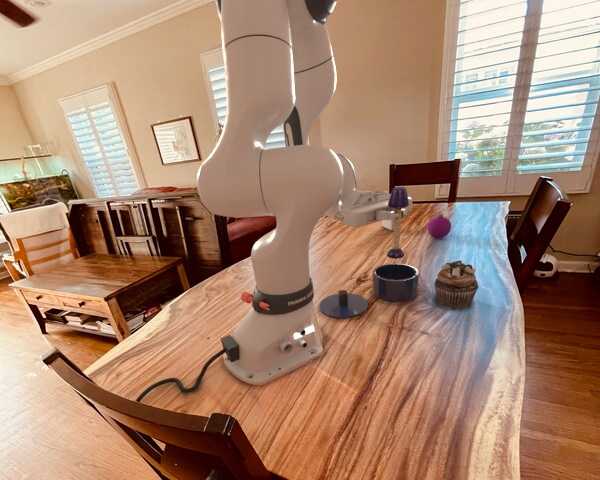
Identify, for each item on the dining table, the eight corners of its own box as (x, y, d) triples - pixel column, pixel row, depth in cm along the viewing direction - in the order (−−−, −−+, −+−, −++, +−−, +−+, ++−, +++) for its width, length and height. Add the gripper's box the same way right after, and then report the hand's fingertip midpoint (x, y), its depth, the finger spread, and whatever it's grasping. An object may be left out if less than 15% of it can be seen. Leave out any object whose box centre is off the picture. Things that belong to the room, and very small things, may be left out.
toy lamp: (409, 254, 79) (413, 186, 71) (400, 260, 76) (403, 190, 69) (391, 251, 82) (394, 185, 74) (382, 257, 79) (384, 189, 72)
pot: (401, 308, 77) (403, 285, 74) (364, 296, 85) (364, 274, 82) (424, 291, 84) (427, 269, 81) (388, 281, 91) (388, 260, 88)
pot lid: (346, 326, 73) (345, 309, 71) (309, 310, 81) (308, 294, 79) (377, 305, 80) (378, 289, 78) (340, 292, 88) (340, 277, 86)
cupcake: (423, 299, 80) (427, 263, 75) (452, 289, 83) (457, 254, 78) (454, 315, 72) (460, 276, 67) (484, 304, 75) (492, 265, 70)
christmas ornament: (444, 233, 124) (447, 208, 119) (453, 239, 116) (457, 212, 112) (423, 235, 124) (425, 210, 119) (431, 242, 117) (434, 215, 112)
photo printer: (380, 226, 142) (381, 198, 136) (389, 224, 142) (390, 196, 136) (391, 231, 133) (392, 202, 127) (400, 230, 133) (402, 200, 127)
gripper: (329, 203, 79) (367, 210, 68) (388, 189, 87) (430, 193, 77) (331, 228, 81) (367, 238, 71) (387, 212, 90) (428, 219, 80)
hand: (400, 215), depth 74 cm, fingers closed on toy lamp
